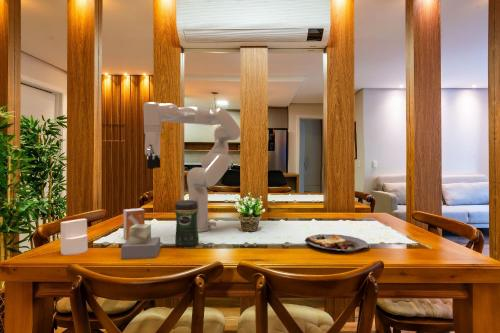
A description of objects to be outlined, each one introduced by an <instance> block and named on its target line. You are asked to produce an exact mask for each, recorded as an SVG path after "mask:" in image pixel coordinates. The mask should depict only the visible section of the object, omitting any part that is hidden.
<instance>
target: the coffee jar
mask: <svg viewBox="0 0 500 333" xmlns="http://www.w3.org/2000/svg"><path fill="white" fill-rule="evenodd" d="M197 212H198V205H197V201H194V200H189V199H188V200H185V199H184V200H183V199H182V200H177V201H176V202H175V205H174V213H175V217H176V220H175V222H176V224H175V238H174V244H175V245H176V246H178V247H179V246H180V247H190V246H195V245H198V243H199V241H200V239H199V232H198V229H197Z"/></svg>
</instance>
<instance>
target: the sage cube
mask: <svg viewBox="0 0 500 333" xmlns="http://www.w3.org/2000/svg"><path fill="white" fill-rule="evenodd" d="M129 229H130V244H146V243H147V242H149V241H150V240H151V237H152V224H151V223H148V224H147V223H145V224H135V225H133V226H132V227H130V228H129Z"/></svg>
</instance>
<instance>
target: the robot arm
mask: <svg viewBox="0 0 500 333" xmlns="http://www.w3.org/2000/svg"><path fill="white" fill-rule="evenodd" d="M142 109H143V110H142V111H143V130H144V131H143V133H144V155H145V156H147V157H146V161H147V162H146V163H147V164H146V166H147V169H148V170H150V169H151V170H152V169H153V170H154V169H158V168H161V137H160V136H161V135H160V134H162V132H163V131H162V122H165V123H172V124H173V123H176V124H187V125H189V124H191V125H192V124H195V125H204V126H217V127H216V128H215V129H214V133H213V136H214V137H213V138H214V145H213V147H212V148H211V149H210V150H209V151H208V152H207V154H206V155H205V156H204V157H203V158H202V160H201V163H200V164H201V167H192V168H191V169H190V170H188V172H187V174H186V182H187V188H188V200H194V201H197V205H198V212H197V229H198V233H202V232H203V233H204V232H208V231H210V230H212V227H217V222H215V221H210V220H209V214H208V213H209V210H208V209H209V208H208V207H209V204H208V203H209V202H208V201H209V195H208V189H207V188H211V187H214V186H215V185H216V184H217V183H218V182H219V180H221V178H223V176H224V174H225V173H226V172H227V171H228V170H229V167H230V159H229V157H228V154H229V151H230V150H229V143H228V141H235V140H237V139H239V138H240V137H241V128H240V125H239V124H238V123H237V122H236V119H234V118H233V117H232V115H231V114H230V113H229V112H228V110H226V109H225V108H224V107H216V108H209V107H200V106H184V107H178V106H177V105H176V104H175V103H171V102H166V103H163V102H162V103H161V102H160V103H159V102H156V101H155V102H154V101H148V102H147V101H146V102H144V103H143V108H142ZM218 125H219V126H218Z"/></svg>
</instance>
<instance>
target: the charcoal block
mask: <svg viewBox="0 0 500 333" xmlns="http://www.w3.org/2000/svg"><path fill="white" fill-rule="evenodd" d="M160 250H161V237H160V236H151V240H150V241H149V242H147V243H146V244H130V238H129V239H128V240H125V242H124V243H123V244H122V245H121V247H120V253H121V254H120V260H136V259H139V260H141V259H155V258H157V256H158V255H159V252H160Z"/></svg>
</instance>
